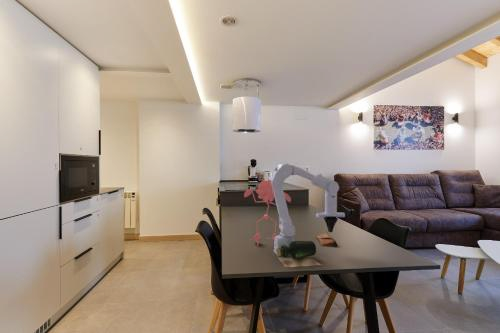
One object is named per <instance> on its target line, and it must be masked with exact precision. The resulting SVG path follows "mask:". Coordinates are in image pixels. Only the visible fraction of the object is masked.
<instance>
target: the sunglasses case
mask: <svg viewBox="0 0 500 333" xmlns="http://www.w3.org/2000/svg"><path fill="white" fill-rule="evenodd" d="M316 238H317V239H318V240H317V241H318V243H319V244H320V246H321V247H330V246H331V247H335V248H337V247H338V243H337V241H336V240H335V239H334V237H332V236H331V235H330V233H329V232H327V231H325V232H324V233H322V234H319V235H317V236H315V239H316Z"/></svg>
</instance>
